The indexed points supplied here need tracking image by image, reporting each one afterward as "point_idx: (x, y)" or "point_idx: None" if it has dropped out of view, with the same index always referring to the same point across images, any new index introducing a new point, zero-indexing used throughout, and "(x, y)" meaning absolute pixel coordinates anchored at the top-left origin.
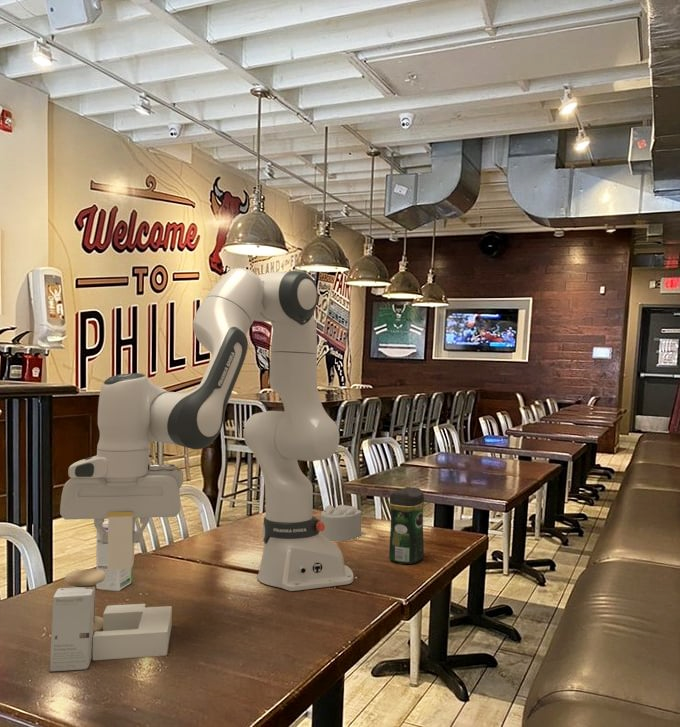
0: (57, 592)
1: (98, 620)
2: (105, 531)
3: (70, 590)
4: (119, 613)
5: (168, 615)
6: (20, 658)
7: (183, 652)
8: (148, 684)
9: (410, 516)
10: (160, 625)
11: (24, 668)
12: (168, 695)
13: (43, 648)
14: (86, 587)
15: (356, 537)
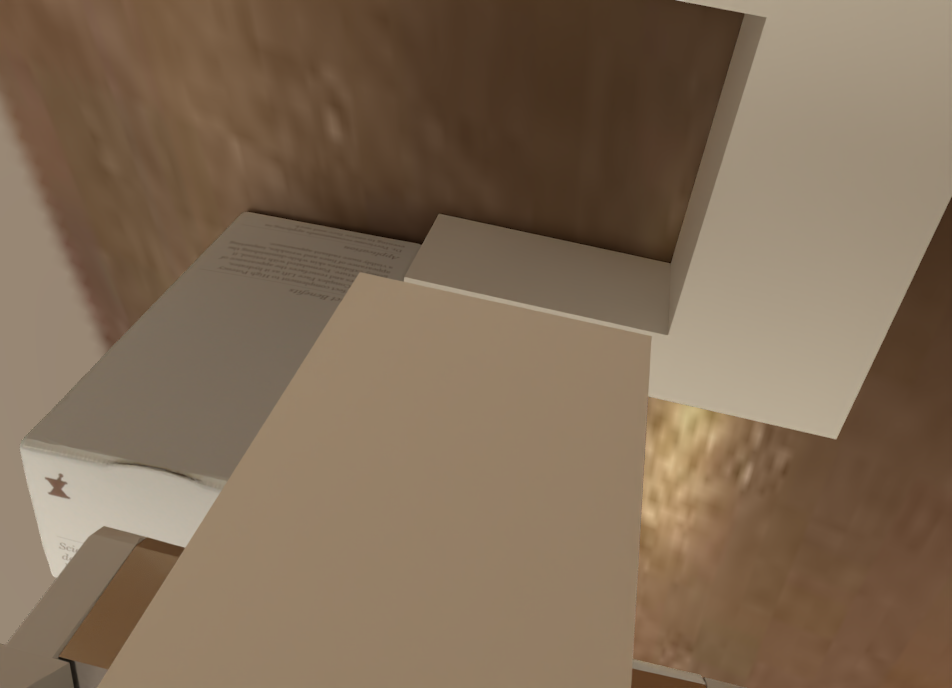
0: (47, 526)
1: None
2: (61, 684)
3: (127, 530)
4: None
5: (943, 182)
6: (63, 108)
7: (921, 354)
8: (668, 559)
9: None
10: (824, 336)
11: (125, 232)
12: (726, 649)
13: (140, 11)
14: None
15: None
